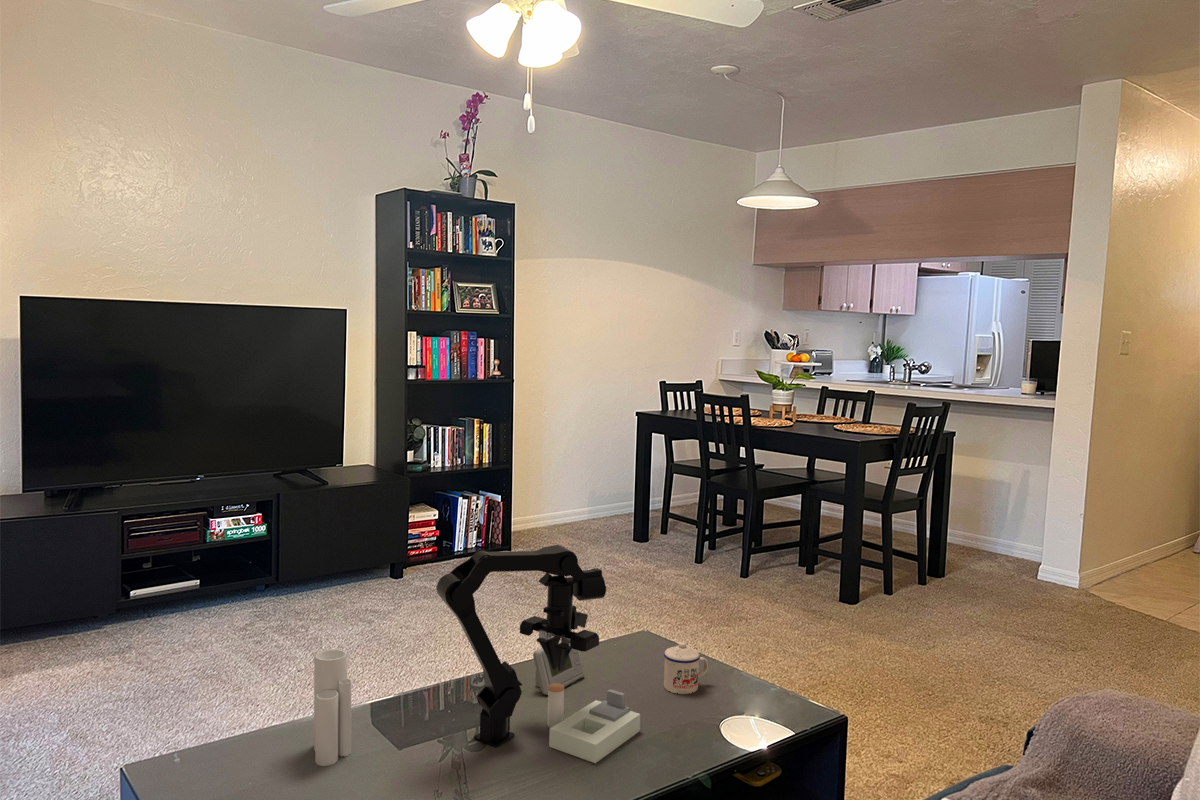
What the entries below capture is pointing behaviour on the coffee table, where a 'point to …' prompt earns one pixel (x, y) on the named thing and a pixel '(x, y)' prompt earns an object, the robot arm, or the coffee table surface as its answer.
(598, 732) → the socket block
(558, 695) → the plug
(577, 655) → the digital clock
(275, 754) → the coffee table surface
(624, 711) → the shutter
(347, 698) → the vase
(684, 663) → the teacup with lid
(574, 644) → the robot arm
